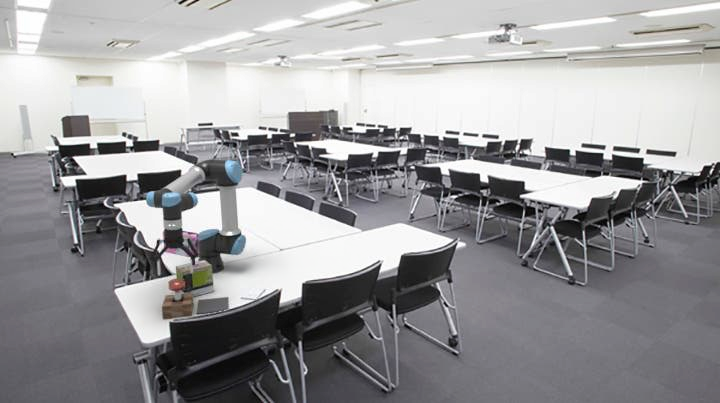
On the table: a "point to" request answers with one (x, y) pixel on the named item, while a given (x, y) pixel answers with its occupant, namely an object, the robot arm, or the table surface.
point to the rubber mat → (212, 305)
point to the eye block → (177, 306)
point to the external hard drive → (252, 293)
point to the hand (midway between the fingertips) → (175, 273)
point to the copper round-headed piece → (177, 288)
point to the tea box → (196, 278)
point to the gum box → (185, 235)
